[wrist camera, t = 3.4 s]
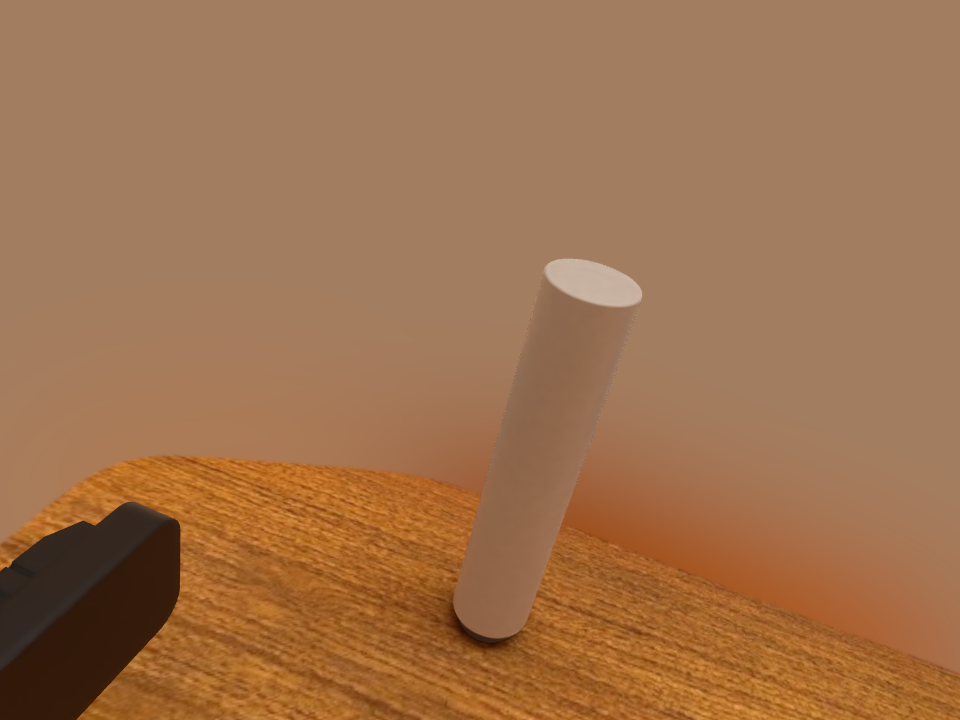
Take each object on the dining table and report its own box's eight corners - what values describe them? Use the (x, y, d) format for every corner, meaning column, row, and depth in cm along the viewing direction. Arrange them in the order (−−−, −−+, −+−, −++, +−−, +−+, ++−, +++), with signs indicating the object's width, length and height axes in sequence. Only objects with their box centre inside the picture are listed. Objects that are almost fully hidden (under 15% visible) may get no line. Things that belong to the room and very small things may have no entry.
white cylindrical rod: (473, 661, 25) (584, 309, 18) (435, 601, 26) (524, 259, 20) (538, 636, 26) (663, 301, 19) (498, 580, 28) (601, 255, 21)
